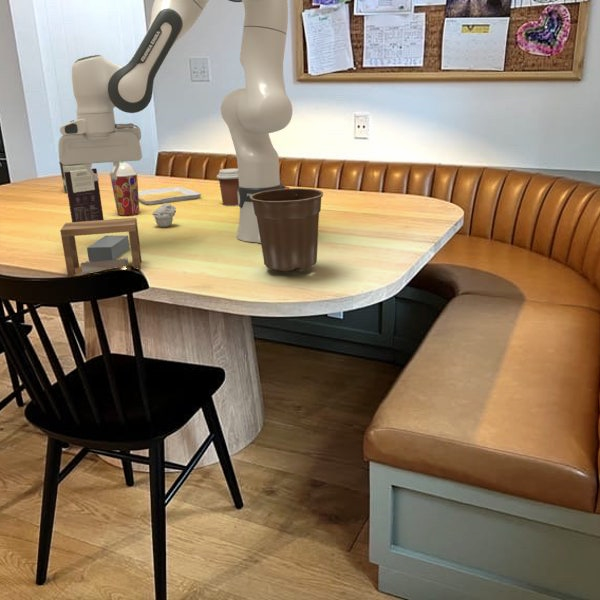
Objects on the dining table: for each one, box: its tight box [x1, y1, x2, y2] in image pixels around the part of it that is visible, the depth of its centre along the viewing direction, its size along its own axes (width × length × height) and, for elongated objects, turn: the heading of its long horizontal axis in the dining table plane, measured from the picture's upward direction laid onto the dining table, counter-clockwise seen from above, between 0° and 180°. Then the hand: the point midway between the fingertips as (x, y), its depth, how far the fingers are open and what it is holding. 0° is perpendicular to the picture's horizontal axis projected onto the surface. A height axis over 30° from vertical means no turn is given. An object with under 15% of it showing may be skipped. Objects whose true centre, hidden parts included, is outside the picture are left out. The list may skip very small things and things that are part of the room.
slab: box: [86, 234, 131, 262], centre depth 158 cm, size 12×6×4 cm, turn 175°
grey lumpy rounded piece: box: [151, 202, 177, 228], centre depth 186 cm, size 6×7×7 cm
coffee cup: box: [216, 168, 239, 207], centre depth 214 cm, size 9×9×12 cm
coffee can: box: [58, 161, 86, 195], centre depth 240 cm, size 10×10×14 cm
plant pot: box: [250, 187, 324, 272], centre depth 143 cm, size 16×16×16 cm
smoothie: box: [109, 161, 140, 217], centre depth 201 cm, size 8×8×20 cm
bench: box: [59, 217, 143, 277], centre depth 146 cm, size 8×16×10 cm, turn 101°
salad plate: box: [138, 186, 202, 206], centre depth 229 cm, size 21×21×3 cm
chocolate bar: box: [64, 168, 105, 222], centre depth 181 cm, size 9×1×18 cm, turn 131°
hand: (104, 180), depth 163 cm, fingers open, 3 cm apart
